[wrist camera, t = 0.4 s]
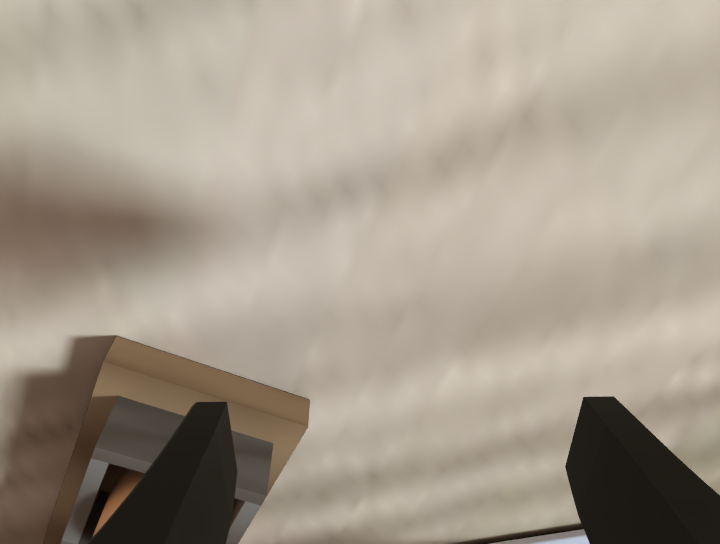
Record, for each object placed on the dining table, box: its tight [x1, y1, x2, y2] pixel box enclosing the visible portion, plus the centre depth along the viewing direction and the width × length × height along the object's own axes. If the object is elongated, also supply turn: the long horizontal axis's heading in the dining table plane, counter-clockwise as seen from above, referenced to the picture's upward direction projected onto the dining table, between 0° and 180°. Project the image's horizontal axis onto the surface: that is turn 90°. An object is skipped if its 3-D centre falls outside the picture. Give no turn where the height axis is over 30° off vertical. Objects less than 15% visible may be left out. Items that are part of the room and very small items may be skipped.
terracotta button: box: [93, 470, 145, 536], centre depth 23 cm, size 4×4×2 cm
